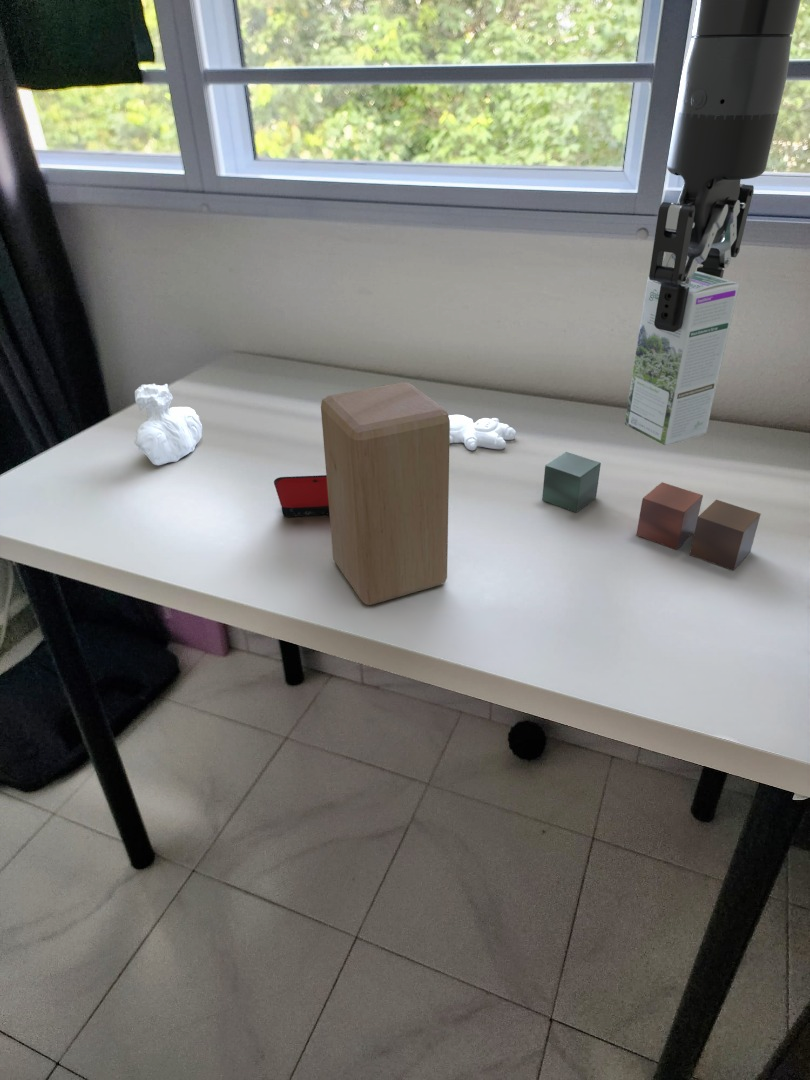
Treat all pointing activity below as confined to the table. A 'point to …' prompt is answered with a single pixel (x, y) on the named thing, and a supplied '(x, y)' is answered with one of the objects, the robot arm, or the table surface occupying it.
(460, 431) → the astronaut figurine
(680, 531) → the block line
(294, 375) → the table surface
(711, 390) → the syrup box
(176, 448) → the bust
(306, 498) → the handheld console
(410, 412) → the wooden block
